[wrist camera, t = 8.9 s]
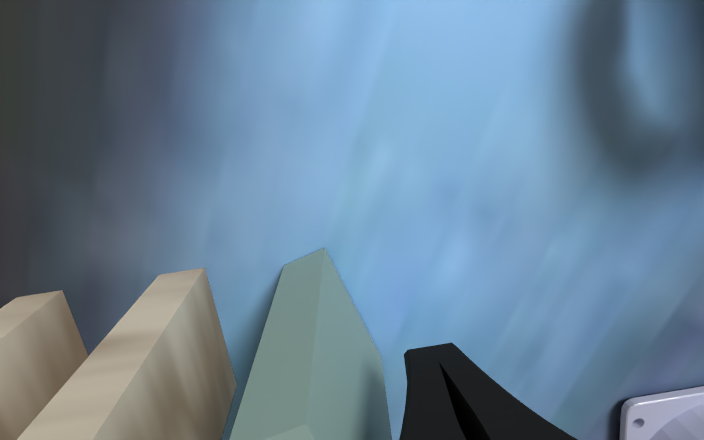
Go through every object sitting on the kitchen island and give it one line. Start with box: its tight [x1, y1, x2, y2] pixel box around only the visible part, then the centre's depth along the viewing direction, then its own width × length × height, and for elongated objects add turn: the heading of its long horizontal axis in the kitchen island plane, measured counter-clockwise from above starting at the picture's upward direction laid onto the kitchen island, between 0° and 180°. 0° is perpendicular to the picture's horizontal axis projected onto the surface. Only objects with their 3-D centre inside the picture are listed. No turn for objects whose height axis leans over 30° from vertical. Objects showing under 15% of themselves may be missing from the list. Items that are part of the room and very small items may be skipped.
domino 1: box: [17, 268, 237, 440], centre depth 12 cm, size 5×2×8 cm, turn 8°
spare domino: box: [229, 248, 392, 440], centre depth 12 cm, size 5×2×8 cm, turn 24°
